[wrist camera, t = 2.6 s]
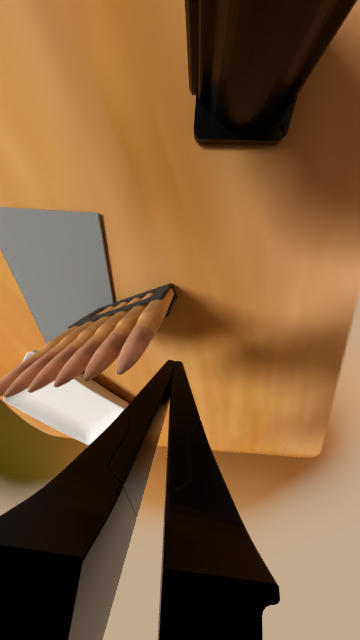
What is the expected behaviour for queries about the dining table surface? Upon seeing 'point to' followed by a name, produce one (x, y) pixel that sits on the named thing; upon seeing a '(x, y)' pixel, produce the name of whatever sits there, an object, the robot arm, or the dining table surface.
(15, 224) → the mat
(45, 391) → the salad plate
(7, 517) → the robot arm
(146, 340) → the ammunition clip
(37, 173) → the dining table surface
